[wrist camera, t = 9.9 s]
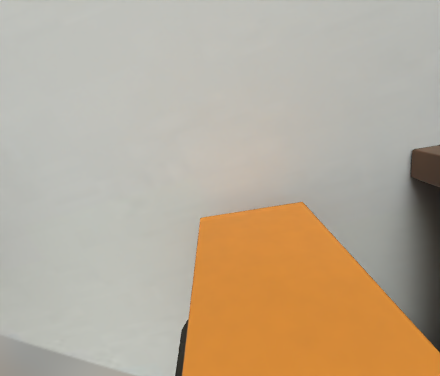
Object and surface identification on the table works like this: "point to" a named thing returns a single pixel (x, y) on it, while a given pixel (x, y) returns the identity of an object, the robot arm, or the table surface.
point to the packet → (292, 304)
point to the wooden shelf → (426, 165)
